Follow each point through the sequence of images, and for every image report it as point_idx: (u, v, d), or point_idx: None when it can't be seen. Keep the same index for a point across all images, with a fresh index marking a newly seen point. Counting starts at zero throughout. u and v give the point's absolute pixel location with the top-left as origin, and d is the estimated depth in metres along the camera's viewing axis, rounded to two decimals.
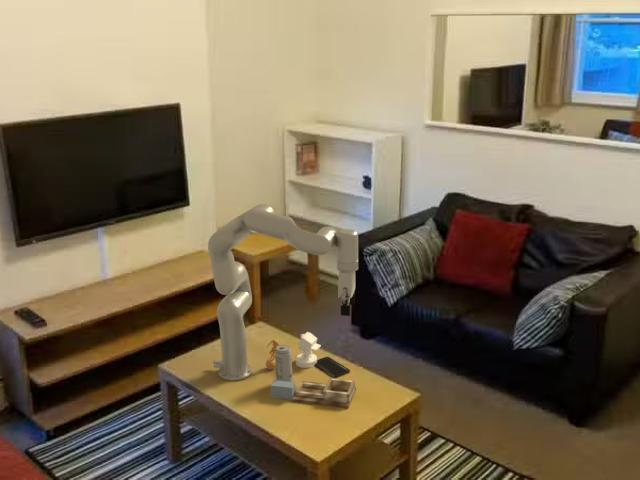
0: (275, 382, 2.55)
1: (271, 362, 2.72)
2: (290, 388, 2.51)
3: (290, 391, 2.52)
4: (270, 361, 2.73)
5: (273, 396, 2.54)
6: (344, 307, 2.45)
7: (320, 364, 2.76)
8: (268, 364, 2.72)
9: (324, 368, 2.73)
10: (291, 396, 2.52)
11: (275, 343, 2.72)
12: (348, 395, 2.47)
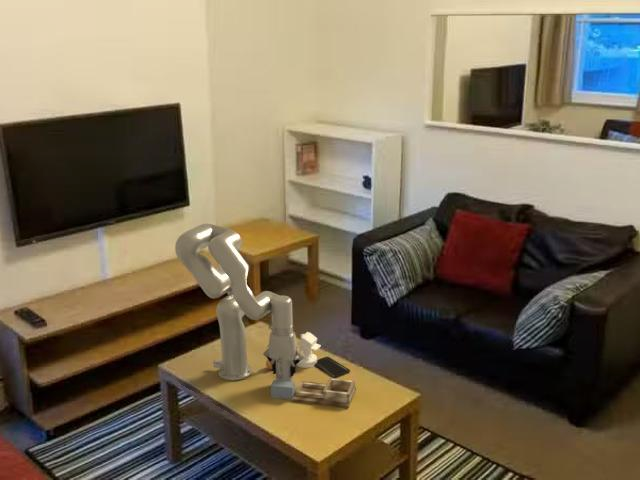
0: (275, 382, 2.55)
1: None
2: (290, 388, 2.51)
3: (290, 391, 2.52)
4: None
5: (273, 396, 2.54)
6: (295, 366, 2.60)
7: (320, 364, 2.76)
8: (268, 364, 2.72)
9: (324, 368, 2.73)
10: (291, 396, 2.52)
11: None
12: (348, 395, 2.47)
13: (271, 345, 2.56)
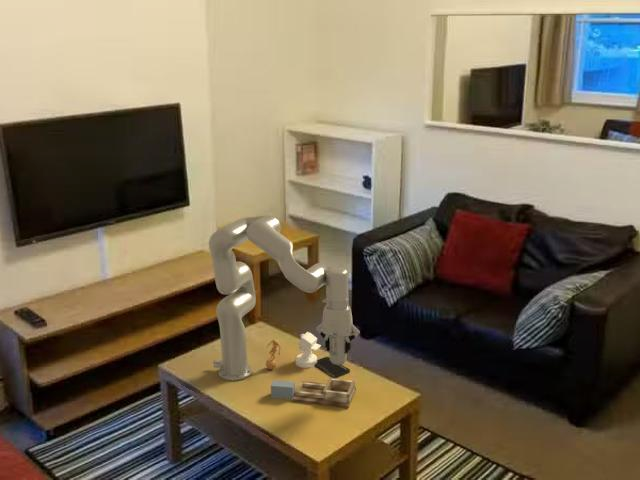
0: (275, 382, 2.55)
1: (271, 362, 2.72)
2: (291, 388, 2.52)
3: (291, 391, 2.52)
4: (270, 361, 2.73)
5: (273, 396, 2.54)
6: (350, 343, 2.46)
7: (320, 364, 2.76)
8: (268, 364, 2.72)
9: (324, 368, 2.73)
10: (292, 396, 2.52)
11: (275, 343, 2.72)
12: (348, 395, 2.47)
13: (325, 320, 2.43)
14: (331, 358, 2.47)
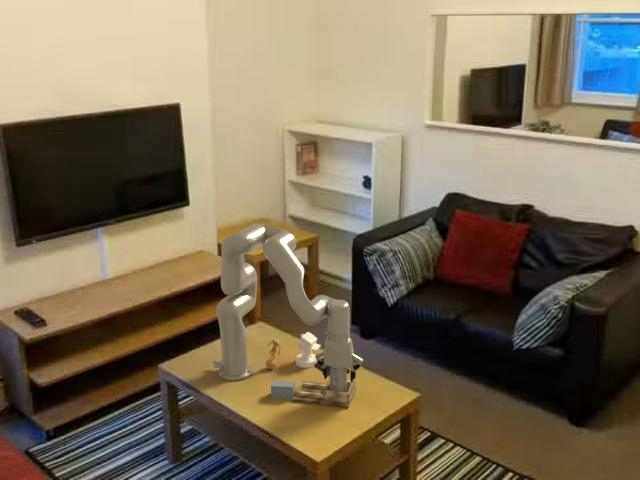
0: (275, 382, 2.55)
1: (271, 362, 2.72)
2: (291, 387, 2.52)
3: (291, 390, 2.52)
4: (270, 361, 2.73)
5: (273, 397, 2.54)
6: (355, 372, 2.49)
7: None
8: (268, 364, 2.72)
9: None
10: (292, 395, 2.53)
11: (275, 343, 2.72)
12: (348, 395, 2.47)
13: (327, 351, 2.46)
14: None
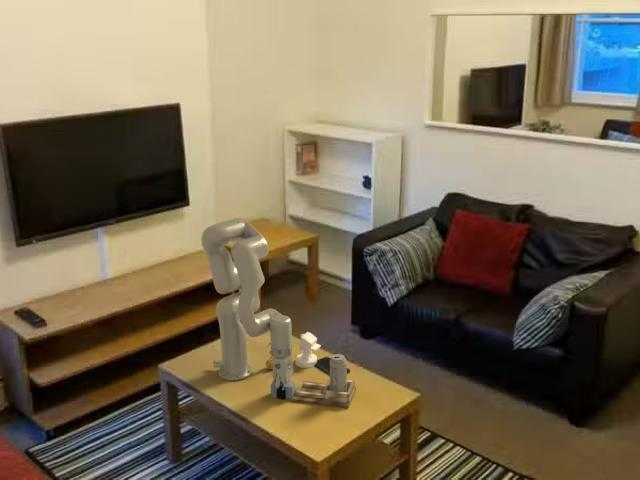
0: None
1: (271, 362, 2.72)
2: (290, 388, 2.51)
3: (290, 391, 2.52)
4: (270, 361, 2.73)
5: (273, 396, 2.54)
6: None
7: (320, 364, 2.76)
8: (268, 364, 2.72)
9: (324, 368, 2.73)
10: (291, 396, 2.52)
11: None
12: (348, 395, 2.47)
13: (286, 369, 2.47)
14: None
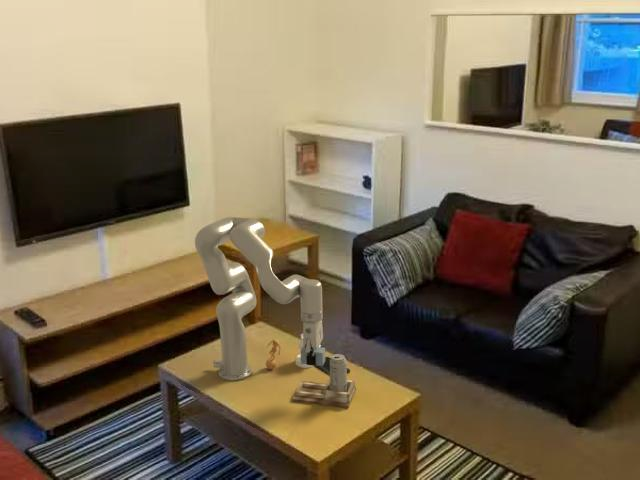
0: (305, 348, 2.51)
1: (271, 362, 2.72)
2: (321, 353, 2.48)
3: (320, 356, 2.48)
4: (270, 361, 2.73)
5: (303, 362, 2.50)
6: None
7: None
8: (268, 364, 2.72)
9: (324, 368, 2.73)
10: (321, 361, 2.49)
11: (275, 343, 2.72)
12: (348, 395, 2.47)
13: (316, 334, 2.44)
14: None
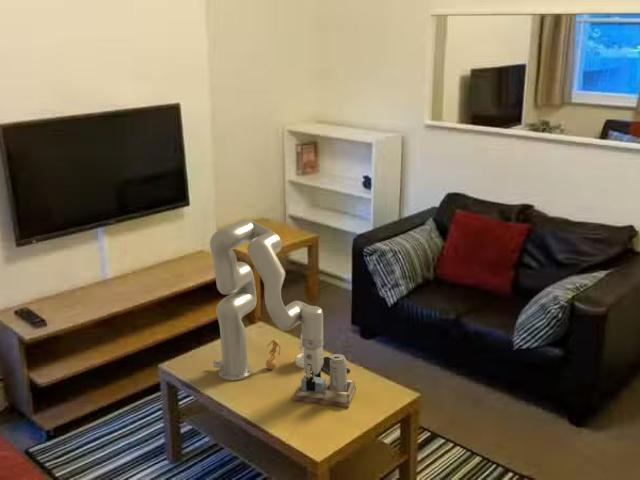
0: None
1: (271, 362, 2.72)
2: (320, 384, 2.52)
3: (320, 387, 2.52)
4: (270, 361, 2.73)
5: (303, 391, 2.55)
6: None
7: None
8: (268, 364, 2.72)
9: (324, 368, 2.73)
10: (321, 392, 2.52)
11: (275, 343, 2.72)
12: (348, 395, 2.47)
13: (317, 360, 2.47)
14: None
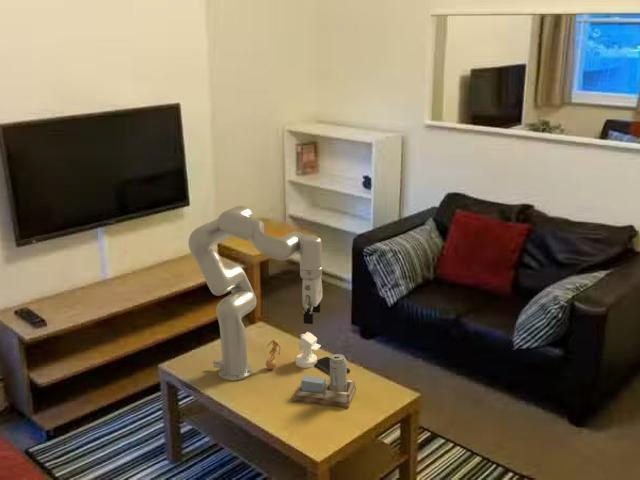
0: (306, 377, 2.55)
1: (271, 362, 2.72)
2: (320, 384, 2.52)
3: (320, 387, 2.52)
4: (270, 361, 2.73)
5: (303, 391, 2.55)
6: None
7: (320, 364, 2.76)
8: (268, 364, 2.72)
9: (324, 368, 2.73)
10: (321, 392, 2.52)
11: (275, 343, 2.72)
12: (348, 395, 2.47)
13: (316, 291, 2.39)
14: None
